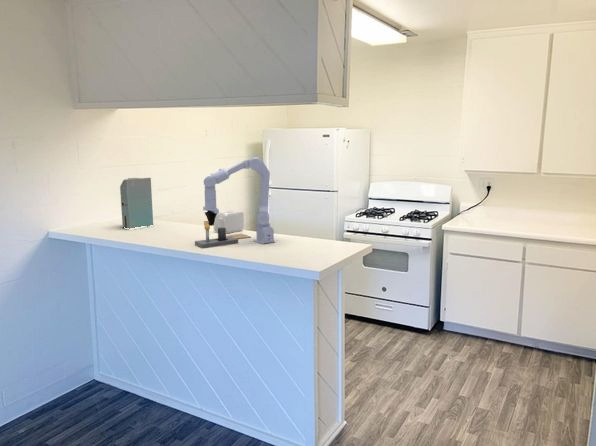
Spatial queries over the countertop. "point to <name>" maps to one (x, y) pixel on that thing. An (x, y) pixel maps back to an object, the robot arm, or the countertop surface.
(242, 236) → the cork mat
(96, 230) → the countertop surface
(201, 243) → the grey base with posts
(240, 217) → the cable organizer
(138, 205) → the device
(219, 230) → the plug
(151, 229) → the countertop surface
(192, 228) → the countertop surface
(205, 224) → the clip
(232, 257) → the countertop surface
